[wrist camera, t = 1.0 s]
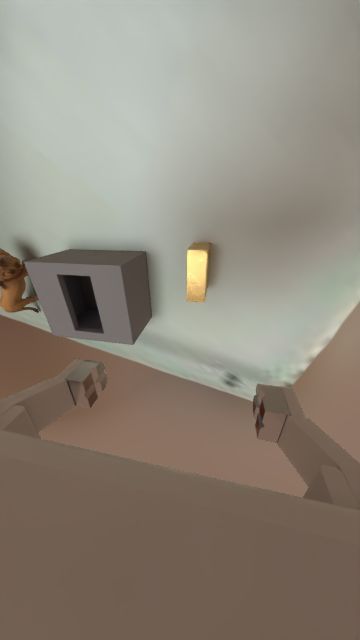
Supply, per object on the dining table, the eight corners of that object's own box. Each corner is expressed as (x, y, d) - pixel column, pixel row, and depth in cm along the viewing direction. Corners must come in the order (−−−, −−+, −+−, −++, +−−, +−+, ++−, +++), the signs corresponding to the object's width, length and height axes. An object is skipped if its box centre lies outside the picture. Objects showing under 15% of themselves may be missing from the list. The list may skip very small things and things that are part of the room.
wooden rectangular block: (193, 242, 29) (187, 249, 24) (210, 242, 29) (207, 250, 24) (192, 286, 33) (186, 301, 28) (207, 287, 32) (204, 302, 27)
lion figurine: (11, 237, 35) (-49, 245, 27) (38, 244, 34) (-15, 254, 27) (30, 308, 42) (-13, 330, 35) (52, 314, 42) (14, 338, 34)
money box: (68, 249, 34) (23, 261, 26) (145, 251, 31) (120, 265, 24) (86, 310, 40) (53, 335, 32) (151, 316, 37) (133, 344, 30)
